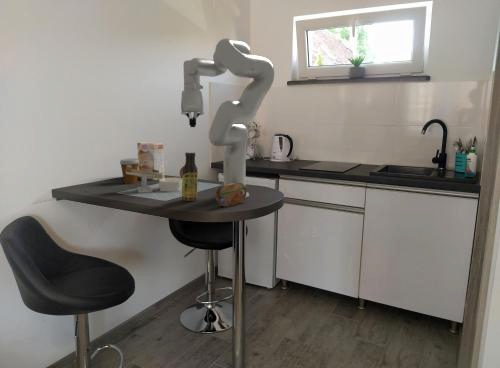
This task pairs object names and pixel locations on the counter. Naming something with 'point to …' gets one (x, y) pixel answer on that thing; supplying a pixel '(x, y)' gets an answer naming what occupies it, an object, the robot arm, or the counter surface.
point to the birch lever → (143, 172)
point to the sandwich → (230, 194)
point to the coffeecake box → (151, 157)
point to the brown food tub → (134, 165)
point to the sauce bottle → (189, 178)
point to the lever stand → (144, 185)
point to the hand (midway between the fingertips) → (192, 127)
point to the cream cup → (170, 184)
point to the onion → (182, 171)
